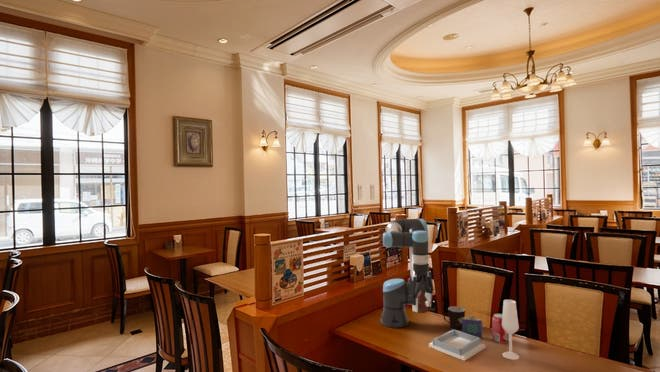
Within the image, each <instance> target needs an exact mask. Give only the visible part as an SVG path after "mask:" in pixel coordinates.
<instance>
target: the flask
mask: <svg viewBox="0 0 660 372" xmlns="http://www.w3.org/2000/svg"><path fill="white" fill-rule="evenodd" d="M462 324H463V330H462V332H464V333H467V334H470V335H473V336H476V337H479V338H481V339H483V337H484V336H483V319H481V318H475V316H474V314H472V315H470V317H467V316H465V317H464V318H462Z"/></svg>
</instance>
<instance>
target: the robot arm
mask: <svg viewBox="0 0 660 372" xmlns="http://www.w3.org/2000/svg"><path fill="white" fill-rule="evenodd" d="M429 239H430V238H429V229H428V225H427V221H426V220H425V219H423V218H398V219H397V218H396V219H394V220H391V221H390V222H388V224H387V225H386V227H385V232H383V233H382V245H383V247H385V248H408V249H409V268H410V269H409V270H410V273H409V274H410V277H409V278H408V279H407V282H405V279H403V278H391V279H388V280H386V281H384V282H383V285H382V292H383V299H382V300H383V309H382V312H381V316H380V323H381V325H383V326H385V327H388V328H392V329H393V328H397V329H399V328H404V327H407V326H408V325H409V317H408V316H407V312H406V305H411V308H412V309H411V310H412V312H415V313H417V312H418V298H417V294H418V293H419V292H420V291H423V293H424V296H425V297H426V299H430V301H431V302H432V299H433V293H434V291H435V289H434V284H433V283H434V282H433V278H432V271H431V272H430V265H429V264H430V263H429V259H430V258H429V255H430V253H429ZM431 307H432V303H431V304H430V308H431Z"/></svg>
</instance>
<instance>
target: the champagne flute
mask: <svg viewBox="0 0 660 372" xmlns="http://www.w3.org/2000/svg"><path fill="white" fill-rule="evenodd" d="M502 304H503V305H502V313H501V314H502V327H503V329H504V330H505V331H506V332H507V333H508V351H505V352H502V354H501V355H502V356H503V357H504V358H506V359H509V360H519V359H520V356H519V355H518V354H517V353H515V352H513V334H515V333H517V332H518V330H519V329H520V326H519V319H518V310H517V302H516V300H513V299H504V300H503V303H502Z"/></svg>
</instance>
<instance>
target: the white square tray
mask: <svg viewBox="0 0 660 372" xmlns="http://www.w3.org/2000/svg"><path fill="white" fill-rule="evenodd" d="M481 340H482V338H479V337H476V336H473V335H470V334H467V333H464V332H463V331H462V330H460V331H458V330H454V329H451V330H449V331H447V332H445V333H443V334H441V335H438V336H437V337H434V338H433V339H432V341H431V342H430V343H428V347H429V348H431V347H432V349H433V348H434V350H435V351H438V352H440V353H444V354H445V355H446V354H447V355H449V356H451V357H453V358H456V359H458V360H462V361H464V362H465V361H467V360H468V359H470V358H471V357H473V356H474V355H477V354H478V353H480V352H481V351H483V350H484V349H486V344H484V343H482V342H481Z"/></svg>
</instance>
